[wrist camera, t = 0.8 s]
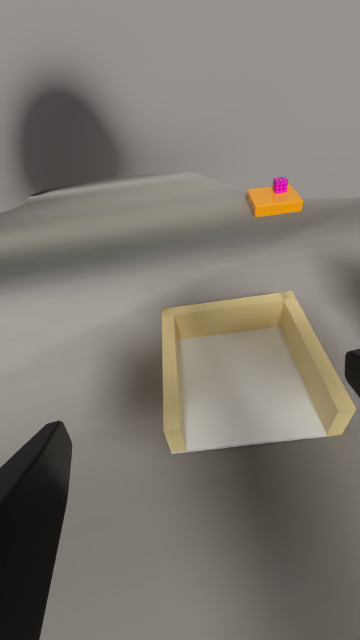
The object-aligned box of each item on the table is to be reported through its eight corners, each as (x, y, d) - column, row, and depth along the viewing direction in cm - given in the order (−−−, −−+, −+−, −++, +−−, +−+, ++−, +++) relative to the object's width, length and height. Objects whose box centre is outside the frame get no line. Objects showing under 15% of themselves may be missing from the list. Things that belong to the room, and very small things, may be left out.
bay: (341, 434, 23) (356, 408, 20) (172, 453, 23) (163, 431, 21) (287, 319, 32) (292, 291, 30) (167, 335, 33) (161, 308, 30)
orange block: (301, 213, 51) (305, 188, 48) (254, 219, 51) (255, 194, 48) (288, 195, 56) (291, 172, 53) (246, 201, 57) (247, 178, 54)
